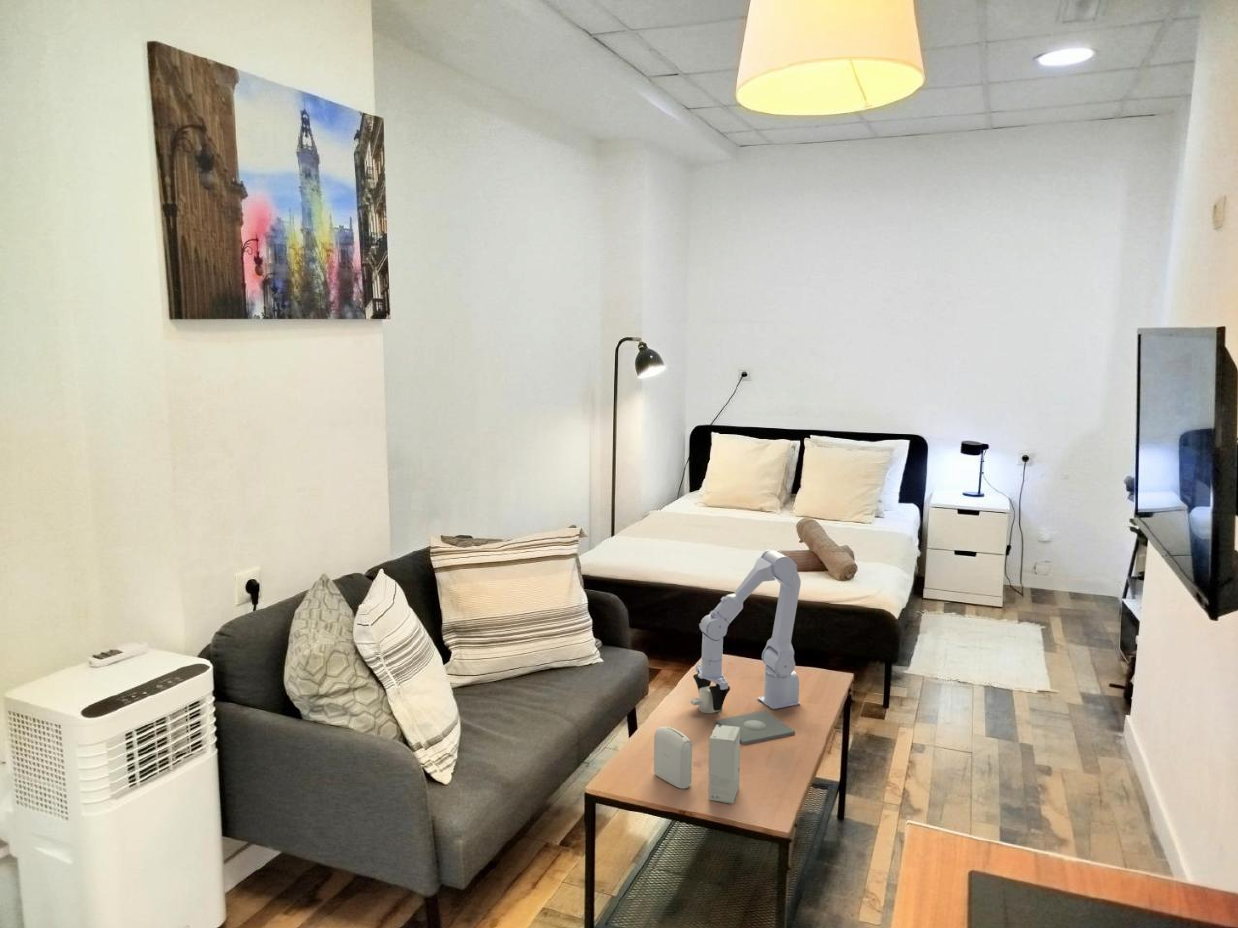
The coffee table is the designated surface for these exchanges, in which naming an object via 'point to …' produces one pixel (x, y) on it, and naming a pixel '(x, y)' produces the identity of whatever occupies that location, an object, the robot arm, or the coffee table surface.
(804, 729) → the coffee table surface
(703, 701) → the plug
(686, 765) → the photo printer
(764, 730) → the mat
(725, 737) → the skincare box
